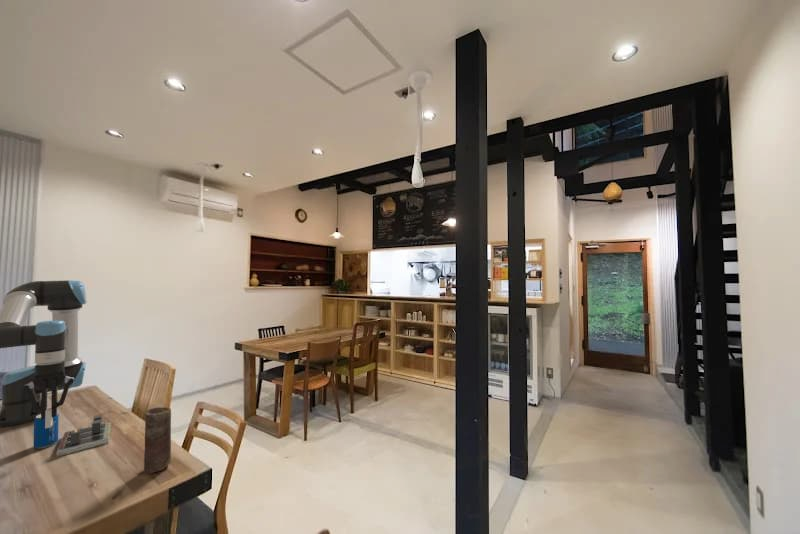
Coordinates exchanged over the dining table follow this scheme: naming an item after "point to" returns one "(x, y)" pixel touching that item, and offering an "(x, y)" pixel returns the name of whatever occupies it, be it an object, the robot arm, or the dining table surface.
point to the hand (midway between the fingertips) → (48, 426)
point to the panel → (84, 440)
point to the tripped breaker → (75, 436)
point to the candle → (157, 439)
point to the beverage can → (45, 432)
